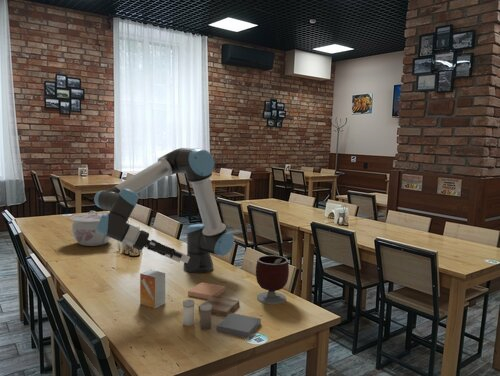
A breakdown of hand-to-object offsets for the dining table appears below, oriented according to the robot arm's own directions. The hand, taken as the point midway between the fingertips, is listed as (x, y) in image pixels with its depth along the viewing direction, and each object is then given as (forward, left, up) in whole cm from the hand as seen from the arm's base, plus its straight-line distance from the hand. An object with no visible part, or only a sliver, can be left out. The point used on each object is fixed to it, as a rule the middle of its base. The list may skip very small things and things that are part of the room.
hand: (184, 259), depth 170 cm
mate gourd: (-19, +32, -18) cm, 41 cm away
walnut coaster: (-1, +16, -18) cm, 24 cm away
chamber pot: (-54, -97, -18) cm, 112 cm away
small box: (+7, -10, -18) cm, 22 cm away
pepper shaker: (+16, +19, -18) cm, 31 cm away
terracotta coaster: (-13, +4, -18) cm, 22 cm away
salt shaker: (+16, +12, -18) cm, 27 cm away
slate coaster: (+11, +30, -18) cm, 37 cm away
